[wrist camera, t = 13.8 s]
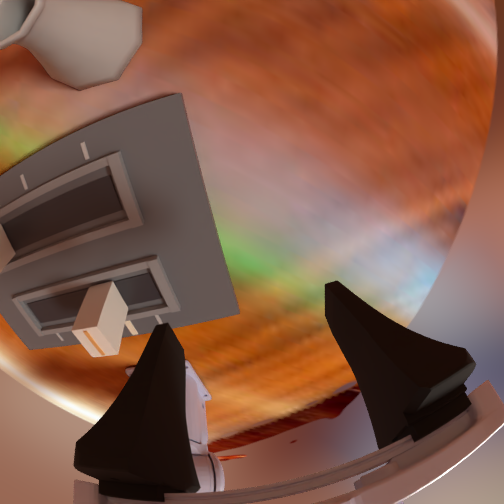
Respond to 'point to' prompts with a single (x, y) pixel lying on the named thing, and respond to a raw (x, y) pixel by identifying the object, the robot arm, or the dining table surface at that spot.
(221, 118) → the dining table surface
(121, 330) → the fader
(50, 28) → the flask
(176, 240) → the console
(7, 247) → the fader
